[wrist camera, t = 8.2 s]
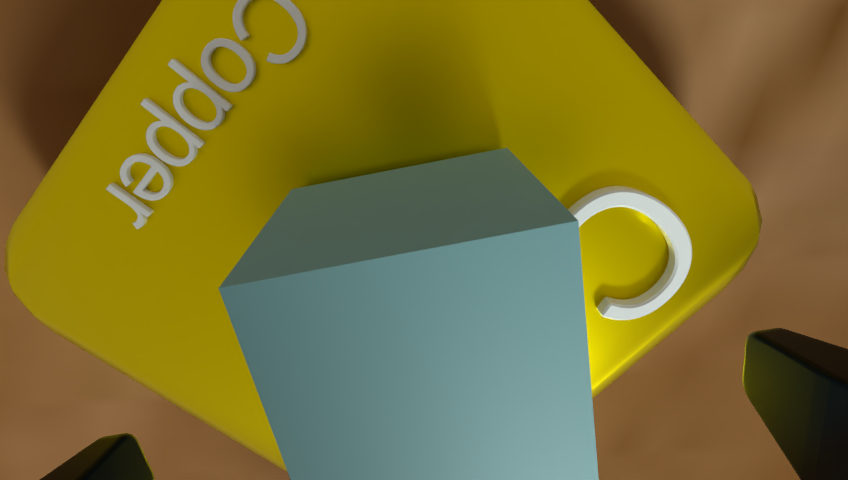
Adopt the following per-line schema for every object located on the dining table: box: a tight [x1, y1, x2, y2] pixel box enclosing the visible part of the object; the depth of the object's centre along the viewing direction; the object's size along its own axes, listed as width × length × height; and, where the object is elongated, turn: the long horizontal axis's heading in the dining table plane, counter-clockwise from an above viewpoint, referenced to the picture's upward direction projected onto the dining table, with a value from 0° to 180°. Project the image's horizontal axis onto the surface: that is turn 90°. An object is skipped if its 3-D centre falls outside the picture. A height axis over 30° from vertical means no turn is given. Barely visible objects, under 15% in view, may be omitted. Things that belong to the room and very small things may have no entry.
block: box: [219, 148, 599, 480], centre depth 10 cm, size 5×5×5 cm
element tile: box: [4, 0, 762, 472], centre depth 15 cm, size 15×15×5 cm
